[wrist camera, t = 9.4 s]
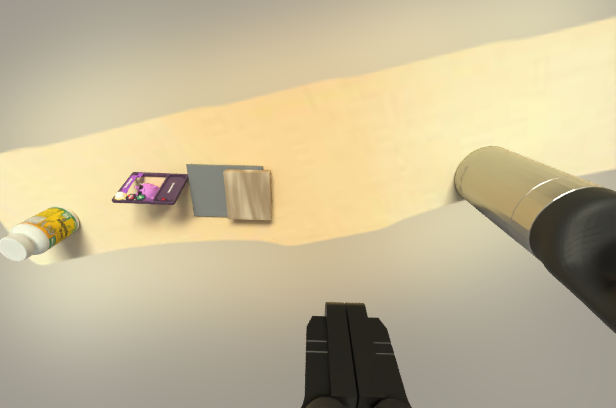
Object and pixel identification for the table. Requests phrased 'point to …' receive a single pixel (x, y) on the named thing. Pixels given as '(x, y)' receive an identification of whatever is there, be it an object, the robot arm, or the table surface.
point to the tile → (248, 194)
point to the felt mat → (210, 188)
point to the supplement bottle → (39, 233)
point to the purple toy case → (152, 189)
